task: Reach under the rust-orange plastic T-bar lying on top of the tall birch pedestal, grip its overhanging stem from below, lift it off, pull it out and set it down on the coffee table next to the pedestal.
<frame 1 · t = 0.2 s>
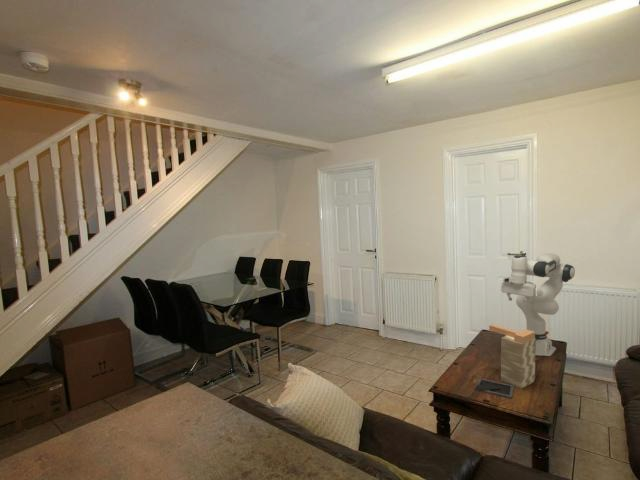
hand: (517, 301, 223), 40 cm above the table, tool pointing down, fingers open, 8 cm apart
pedestal: (517, 380, 203), on the table
picture frame: (494, 390, 196), on the table
t bar: (518, 337, 200), point 26 cm above the table, touching pedestal
mug: (532, 374, 209), on the table
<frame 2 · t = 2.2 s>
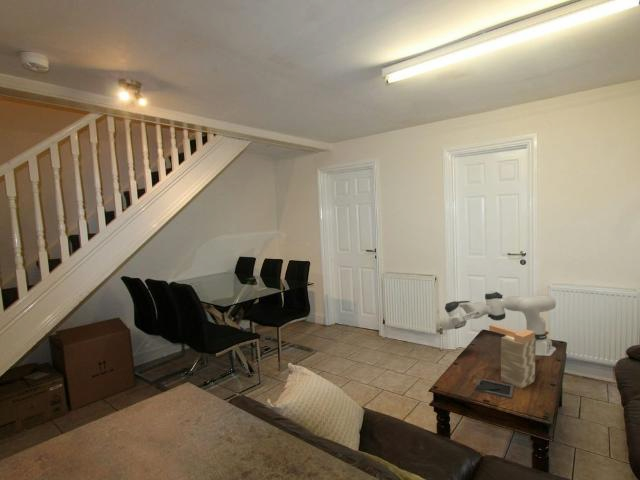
hand: (474, 314, 225), 32 cm above the table, tool pointing upward, fingers open, 8 cm apart
nothing on the table moved.
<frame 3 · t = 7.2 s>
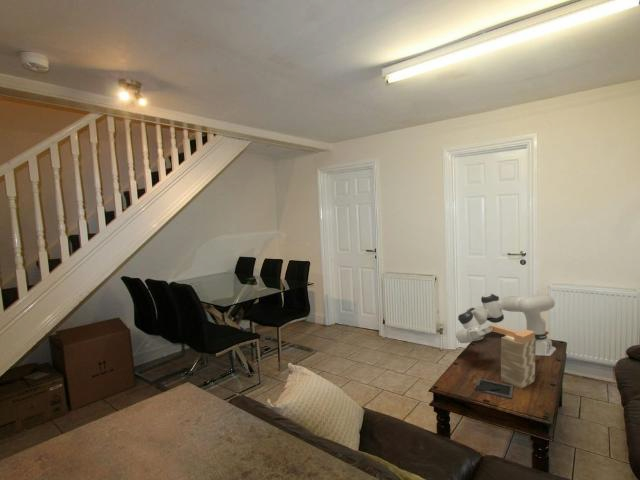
hand: (495, 327, 212), 28 cm above the table, tool pointing upward, fingers closed on t bar, 3 cm apart
t bar: (518, 337, 200), point 26 cm above the table, touching gripper, pedestal
everything else where it was.
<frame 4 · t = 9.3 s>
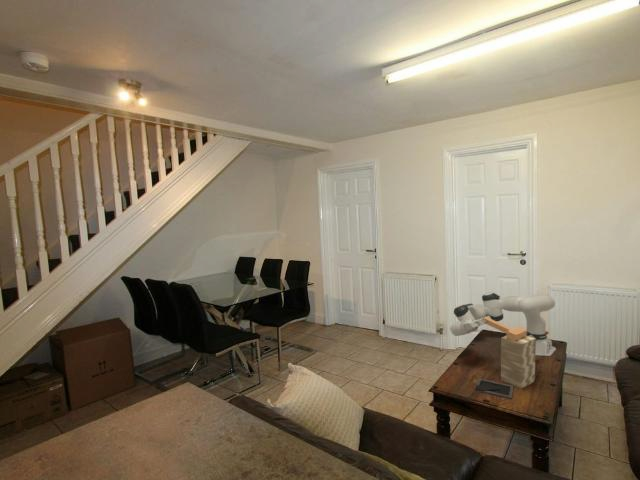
hand: (488, 319, 215), 32 cm above the table, tool pointing upward, fingers closed on t bar, 3 cm apart
t bar: (510, 334, 203), point 27 cm above the table, tilted 10°, touching gripper
everything else where it was.
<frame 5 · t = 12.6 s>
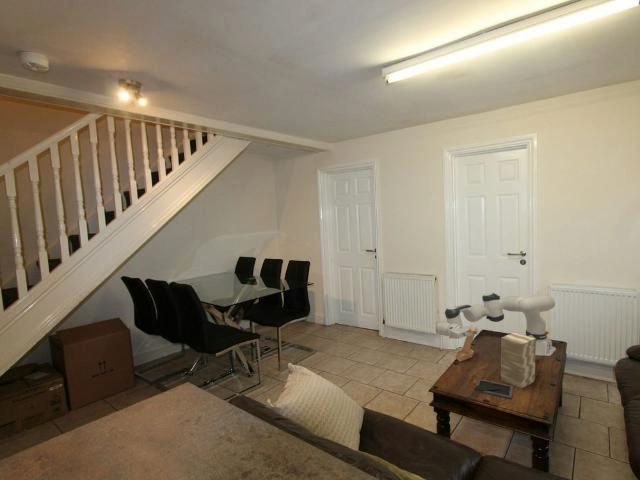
hand: (474, 333, 224), 20 cm above the table, tool horizontal, fingers closed on t bar, 3 cm apart
t bar: (463, 348, 233), point 7 cm above the table, tilted 109°, touching gripper
everything else where it was.
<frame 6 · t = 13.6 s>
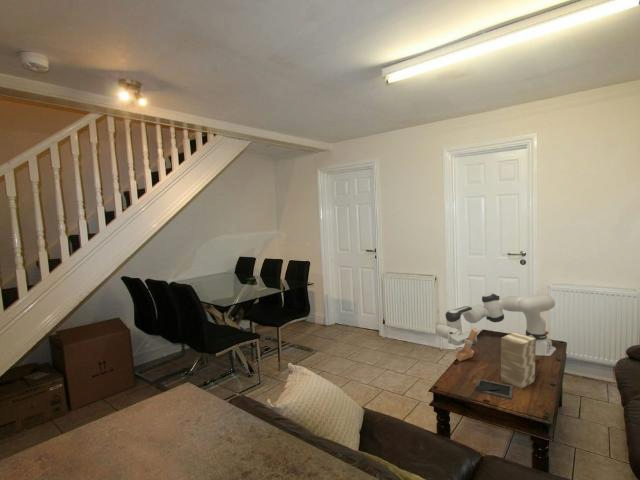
hand: (474, 341, 225), 14 cm above the table, tool horizontal, fingers closed on t bar, 3 cm apart
t bar: (464, 348, 232), point 7 cm above the table, tilted 113°, touching gripper
everything else where it was.
when the fingers open (14 cm above the table, at t = 14.3 s): t bar drops 4 cm and tips over, point 4 cm above the table.
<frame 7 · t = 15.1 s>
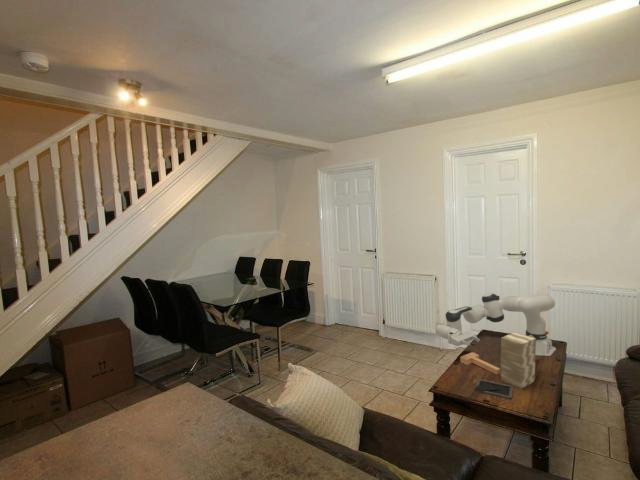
hand: (474, 342, 225), 14 cm above the table, tool horizontal, fingers open, 8 cm apart
t bar: (474, 357, 226), point 4 cm above the table, tilted 178°
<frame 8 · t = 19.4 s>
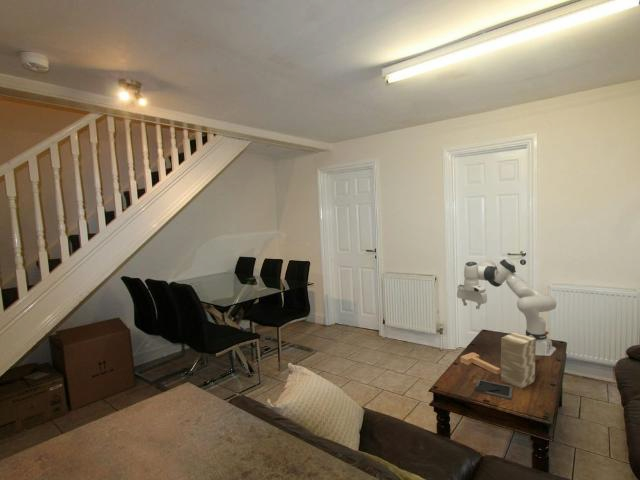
hand: (471, 307, 230), 35 cm above the table, tool pointing down, fingers open, 8 cm apart
at the end: t bar point 3.7 cm above the table; t bar moved 35.5 cm from its start; the gripper is holding nothing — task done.
